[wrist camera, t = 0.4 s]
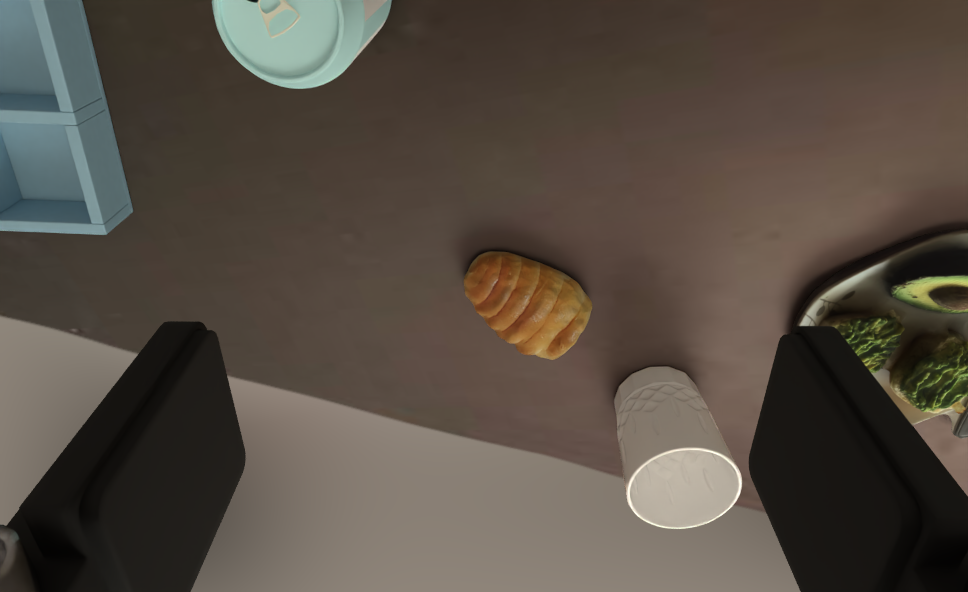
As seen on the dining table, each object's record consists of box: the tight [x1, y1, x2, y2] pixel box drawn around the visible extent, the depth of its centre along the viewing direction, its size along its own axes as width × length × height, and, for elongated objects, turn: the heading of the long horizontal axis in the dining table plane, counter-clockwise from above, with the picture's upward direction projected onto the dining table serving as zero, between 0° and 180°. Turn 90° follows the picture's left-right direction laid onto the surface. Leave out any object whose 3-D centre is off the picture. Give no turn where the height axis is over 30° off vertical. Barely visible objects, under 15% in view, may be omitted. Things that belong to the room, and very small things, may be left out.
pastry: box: [464, 251, 592, 360], centre depth 49 cm, size 9×7×4 cm
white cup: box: [614, 366, 742, 529], centre depth 52 cm, size 8×8×10 cm
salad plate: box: [792, 229, 968, 438], centre depth 51 cm, size 19×18×5 cm
